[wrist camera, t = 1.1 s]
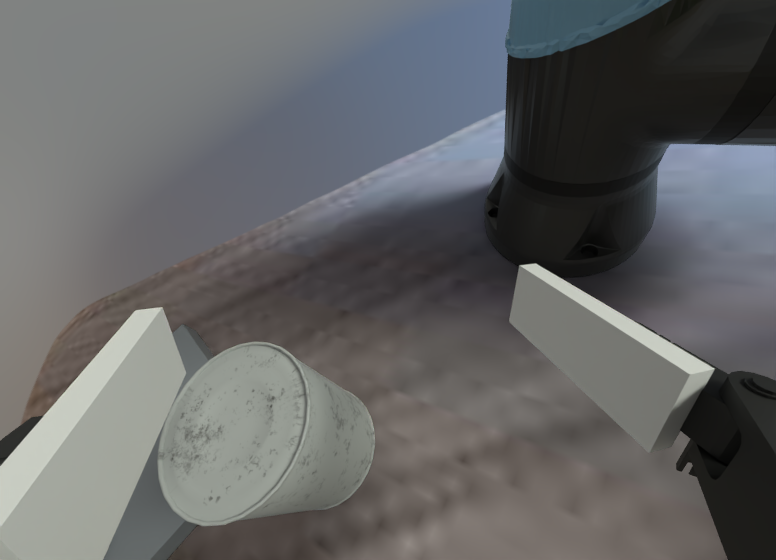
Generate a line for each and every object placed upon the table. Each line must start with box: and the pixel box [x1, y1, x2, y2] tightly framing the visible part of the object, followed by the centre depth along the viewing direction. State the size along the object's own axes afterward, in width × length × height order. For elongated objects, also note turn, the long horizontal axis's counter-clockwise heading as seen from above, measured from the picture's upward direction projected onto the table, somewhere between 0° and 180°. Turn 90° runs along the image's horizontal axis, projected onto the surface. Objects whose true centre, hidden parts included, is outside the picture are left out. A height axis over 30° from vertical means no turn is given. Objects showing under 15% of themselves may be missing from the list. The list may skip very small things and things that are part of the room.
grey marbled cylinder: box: [157, 342, 375, 526], centre depth 23 cm, size 10×10×12 cm
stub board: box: [103, 324, 214, 560], centre depth 30 cm, size 20×18×5 cm
